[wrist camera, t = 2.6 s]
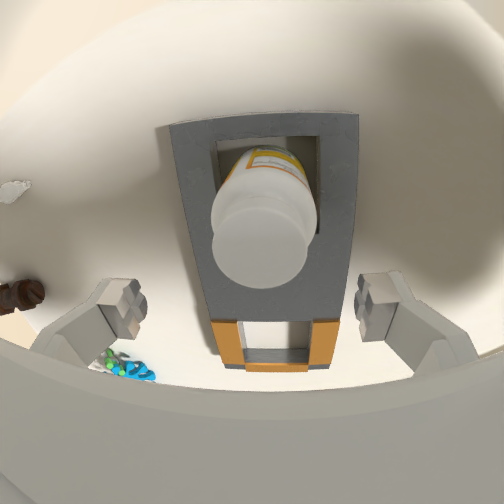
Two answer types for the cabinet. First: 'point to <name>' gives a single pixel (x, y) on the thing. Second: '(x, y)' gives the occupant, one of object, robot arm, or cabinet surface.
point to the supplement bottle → (263, 219)
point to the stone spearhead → (13, 190)
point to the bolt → (20, 296)
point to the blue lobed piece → (128, 369)
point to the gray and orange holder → (319, 250)
